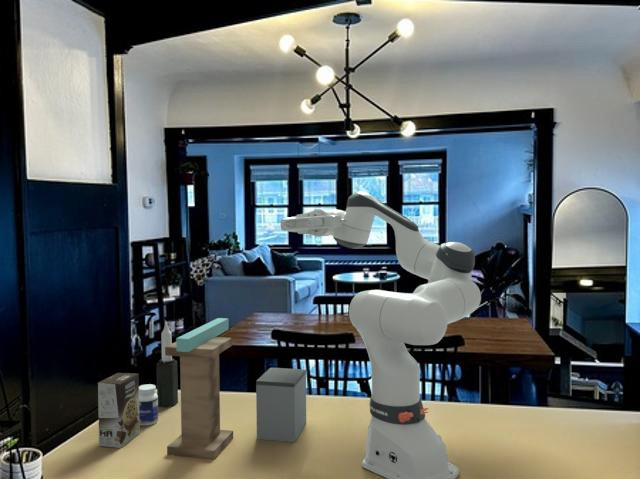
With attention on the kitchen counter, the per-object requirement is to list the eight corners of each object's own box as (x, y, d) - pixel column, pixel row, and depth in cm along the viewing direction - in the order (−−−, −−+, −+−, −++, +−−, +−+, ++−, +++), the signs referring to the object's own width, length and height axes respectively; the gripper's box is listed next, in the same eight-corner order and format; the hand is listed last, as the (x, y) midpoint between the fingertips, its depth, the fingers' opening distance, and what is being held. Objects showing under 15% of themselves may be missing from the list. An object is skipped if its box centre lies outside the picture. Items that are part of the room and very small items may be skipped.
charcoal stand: (271, 421, 151) (270, 367, 150) (306, 423, 149) (305, 369, 148) (256, 438, 139) (256, 380, 138) (294, 442, 137) (294, 383, 136)
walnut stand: (189, 434, 142) (188, 335, 141) (233, 438, 139) (231, 337, 138) (167, 454, 130) (165, 347, 129) (214, 459, 128) (212, 349, 126)
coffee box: (121, 448, 134) (120, 383, 133) (98, 446, 135) (96, 382, 134) (141, 433, 143) (139, 372, 142) (118, 431, 144) (117, 371, 143)
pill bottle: (132, 425, 148) (131, 389, 148) (142, 417, 154) (141, 383, 153) (152, 426, 147) (151, 390, 147) (161, 418, 153) (161, 383, 152)
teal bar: (218, 329, 148) (218, 318, 148) (228, 329, 148) (228, 318, 148) (176, 351, 125) (176, 338, 125) (188, 351, 124) (188, 338, 124)
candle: (155, 406, 162) (154, 323, 161) (163, 400, 167) (162, 320, 166) (172, 407, 162) (170, 323, 160) (179, 401, 167) (177, 320, 165)
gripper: (349, 230, 172) (326, 232, 160) (296, 233, 183) (271, 235, 171) (348, 210, 172) (325, 210, 160) (294, 215, 182) (269, 215, 171)
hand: (297, 223), depth 165 cm, fingers open, 8 cm apart
